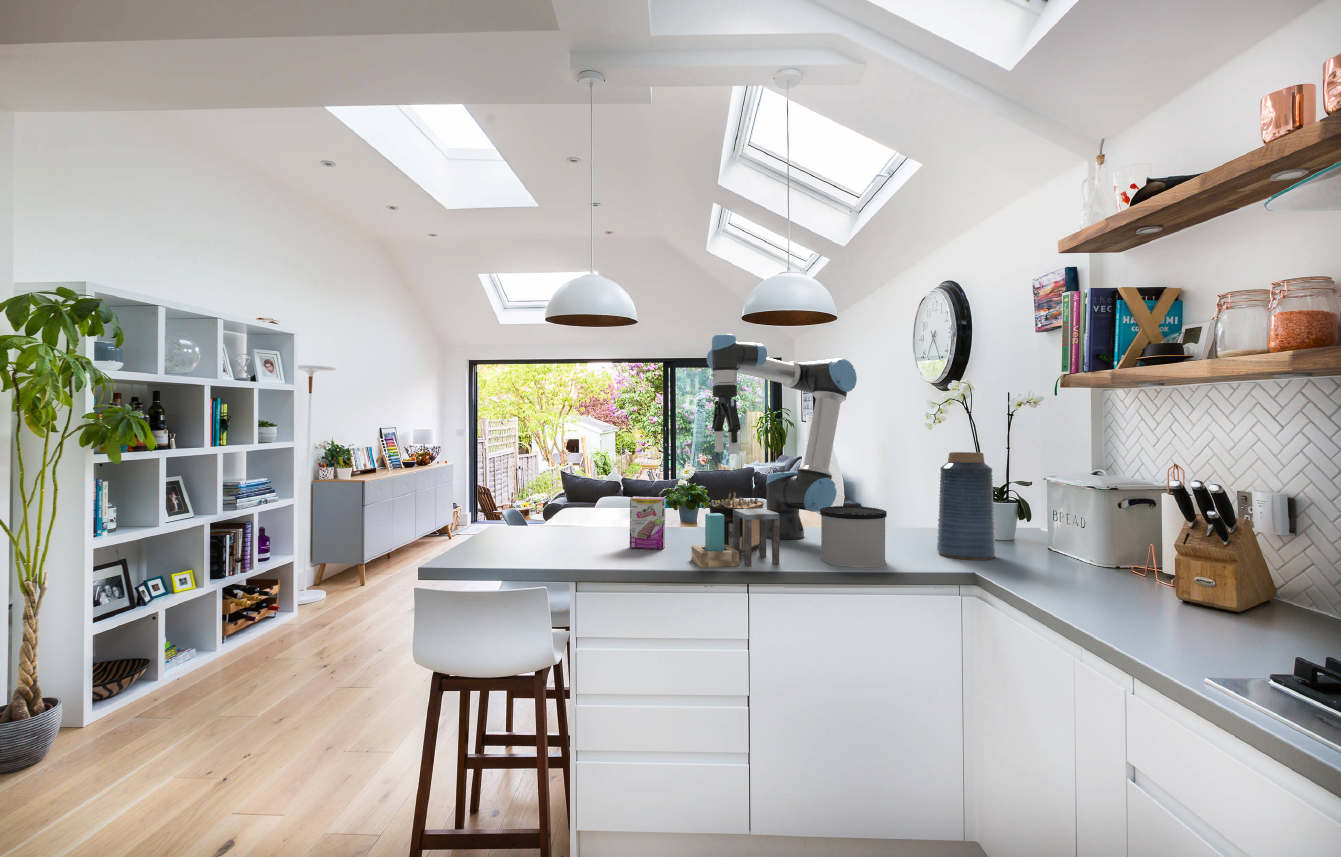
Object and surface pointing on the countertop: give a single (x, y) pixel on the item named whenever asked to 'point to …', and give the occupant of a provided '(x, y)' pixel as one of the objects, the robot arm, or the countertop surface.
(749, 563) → the socket station
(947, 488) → the vase
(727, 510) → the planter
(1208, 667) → the countertop surface
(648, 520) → the candy bar box
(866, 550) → the container
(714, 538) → the peg
